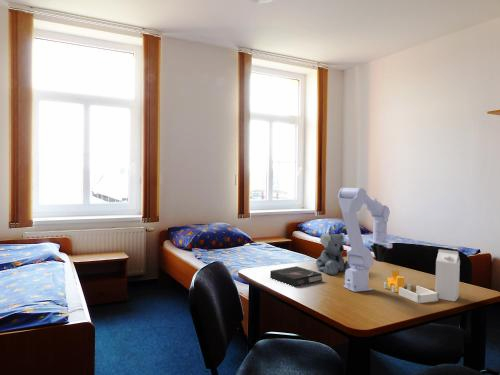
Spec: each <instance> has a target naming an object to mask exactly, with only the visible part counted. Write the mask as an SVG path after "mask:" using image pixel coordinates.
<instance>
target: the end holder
mask: <svg viewBox="0 0 500 375" xmlns="http://www.w3.org/2000/svg"><path fill="white" fill-rule="evenodd" d="M398 296H400V297H403V298H405V299H408V300H410V301H412V302H415V303H417V304H423V303H432V302H438V301H439V293H437V292H435V290H432V289H431V290H430V289H428V288H426V287H423V286H420V285H416V286H415V292H414V291H412V290H410V291H409V290H407V288H405V287H404V288H401V287H399V293H398Z"/></svg>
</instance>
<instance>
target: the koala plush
mask: <svg viewBox="0 0 500 375" xmlns="http://www.w3.org/2000/svg"><path fill="white" fill-rule="evenodd" d="M345 238H346V235H345V233H343V232H340V233H339V234H338V233H327V232H325V233H323V234H321V235H320V236H319V240H320V241H319V243H321V245H322V246H323V247H324V250H322V252H321V254H320V256H319V257H318V258H316V261H315V265H316V268H317V270H319V271H321V272H323V273H325V274H326V275H329V276H336V275H337V274H338V273H339V272H342V273H345V271H346V270H347V269H349V268H351V267H350V265H349V264H348V261H347V260H346V261H345V259H344V257H343V255H342V254H343V252H344V249H345V248H344V241H345Z"/></svg>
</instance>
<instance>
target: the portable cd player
mask: <svg viewBox="0 0 500 375" xmlns="http://www.w3.org/2000/svg"><path fill="white" fill-rule="evenodd" d="M269 274H270V277H269V278H270V279H271V278H272V279H271V280H273V279H275V280H274V281H276V280H277V282H279V281H280V283H282V282H283V283H282V284H285V283H286V285H288V284H289V285H288V286H290V285H291V287H293V286H294V288H297V286H298V287H302V286H301V285H303V286H307V285H311V283H312V284H316V283H315V282H317V283H321V282H323V274H322V273H321V272H317V271H314V270H311V269H307V268H304V267H300V266H291V267H286V268H280V269H273V270H270V273H269ZM306 284H307V285H306Z"/></svg>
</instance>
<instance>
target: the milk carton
mask: <svg viewBox="0 0 500 375" xmlns="http://www.w3.org/2000/svg"><path fill="white" fill-rule="evenodd" d="M437 252H438V253H437V257H436V259H435V281H434V282H435V283H434V285H435V287H434V288H435V290H434V292H437V293H439V298H438V300H439V299H440V300H443V301H444V300H445V301H450V302H456V301H457V299H458V298H459V296H460V268H461V267H460V266H461V260H460V256H459V255H460V254H459V251H457V250H448V249H441V248H439V249H438V251H437Z"/></svg>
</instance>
